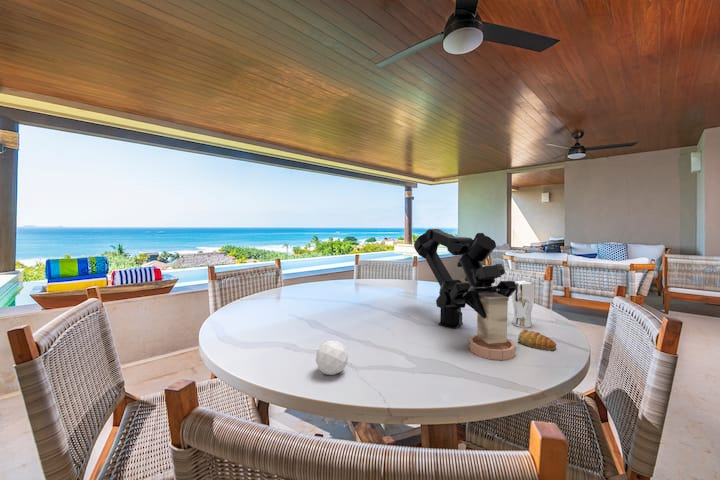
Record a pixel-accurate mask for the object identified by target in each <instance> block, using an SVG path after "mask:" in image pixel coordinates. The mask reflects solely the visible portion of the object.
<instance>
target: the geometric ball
mask: <svg viewBox="0 0 720 480" xmlns="http://www.w3.org/2000/svg"><path fill="white" fill-rule="evenodd" d="M348 358H349V354H348V351H347V348H346V346H345V345H344V344H342V343H341V342H340V341H337V340H333V339H332V340H331V339H330V340H328V341H326V342H324V343H322V344H320V346H319V348H318V349H317V350H316V354H315V362H316V364H317V368H318V369H319V370H320V371H321V373H323V374H324V375H328V376H335V375H338V374H339V373H341V372H343V370H344V369H345V368H346V367H347V365H348Z"/></svg>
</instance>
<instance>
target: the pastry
mask: <svg viewBox="0 0 720 480" xmlns="http://www.w3.org/2000/svg"><path fill="white" fill-rule="evenodd" d="M517 340H518V342H519V343H520V344H521V345H526V346H527V347H530V348H534V349H537V350H541V351H554V350H555V349H556V347H557V343H556V342H555V341H554V340H552V339H551V338H550V337H548V336H546V335H544V334H541V333H540V332H538V331H534V330H528V329H526V328H524V329H522V330H521V331H520V332H519V335H518V338H517Z"/></svg>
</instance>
